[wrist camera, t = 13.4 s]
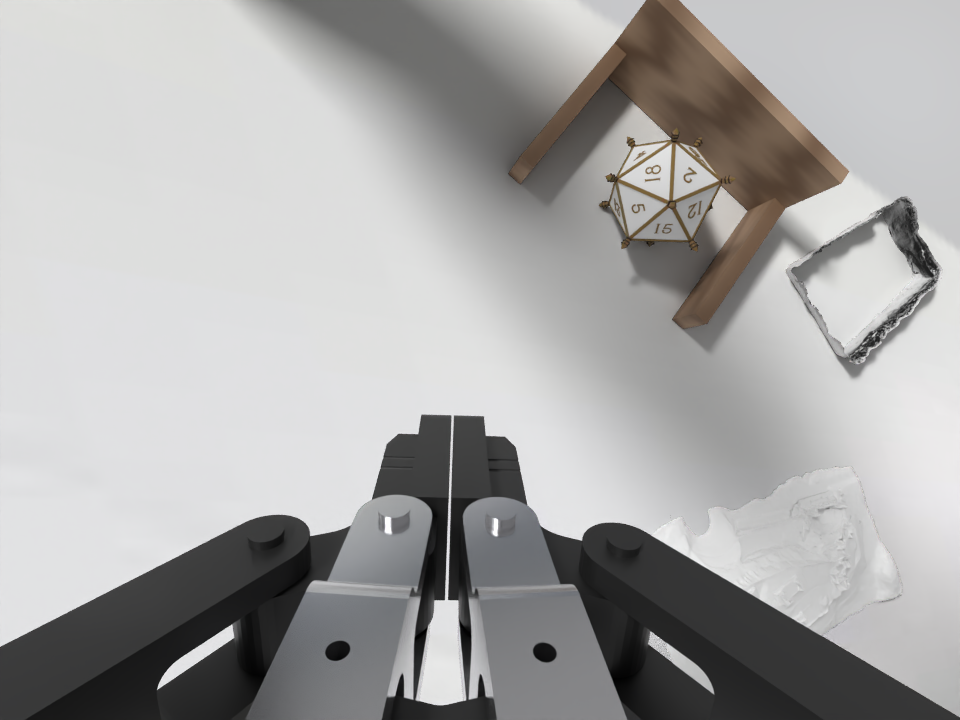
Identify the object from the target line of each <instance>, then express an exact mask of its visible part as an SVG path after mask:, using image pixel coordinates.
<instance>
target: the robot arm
mask: <svg viewBox="0 0 960 720" xmlns="http://www.w3.org/2000/svg"><path fill="white" fill-rule="evenodd" d="M450 442H451V415H421V421H420V428H419V434H398V435H397V436H396V437H395V438H393V439H392V440H391V441H390V442H389V443H388V444H387V446H386V449H385V453H384V459H383V460H382V464H381V469H380V471H379V475H378V479H377V483H376V486H375V490H374V494H373V497H372V500H371V501H369V502H367V503H366V504H364V505H363V506H362V507H361V508H360V509H359V510H358V512H357V514H356V516H355V518H354V520H353V523H352V525H351V526H349V527H347V528H345V529H342V530H339V531H335V532H331V533H326V534H320V535H315V536H310V531H309V528H308V526H307V525H306V524H305V523H304V522H303V521H302V520H300V519H298V518H295V517H292V516H287V515H269V516H263V517H259V518H255V519H252V520H250V521H247V522H245V523H243V524H241V525H239V526H237V527H235V528H233V529H231V530H229V531H227V532H225V533H223V534H221V535H219V536H217V537H215V538H213V539H211V540H210V541H208V542H206V543H204V544H202V545H200V546H198V547H196V548H194V549H192V550H190V551H188V552H186V553H184V554H182V555H180V556H178V557H176V558H174V559H172V560H170V561H168V562H166V563H164V564H162V565H160V566H158V567H156V568H154V569H153V570H151V571H149V572H147V573H145V574H143V575H141V576H139V577H137V578H135V579H133V580H131V581H129V582H127V583H125V584H123V585H121V586H119V587H117V588H115V589H113V590H111V591H109V592H107V593H105V594H103V595H101V596H99V597H97V598H96V599H94V600H92V601H90V602H88V603H86V604H84V605H82V606H80V607H78V608H76V609H74V610H72V611H70V612H68V613H66V614H64V615H62V616H60V617H58V618H56V619H54V620H52V621H50V622H48V623H46V624H44V625H42V626H40V627H39V628H37V629H35V630H33V631H31V632H29V633H27V634H25V635H23V636H21V637H19V638H17V639H15V640H13V641H11V642H9V643H7V644H5V645H3V646H1V647H0V720H960V717H958V716H956V715H955V714H953V713H951V712H950V711H948V710H946V709H944V708H943V707H941V706H939V705H938V704H936V703H934V702H933V701H931V700H929V699H927V698H926V697H924V696H922V695H921V694H919V693H917V692H916V691H914V690H912V689H911V688H909V687H907V686H905V685H904V684H902V683H900V682H899V681H897V680H895V679H894V678H892V677H890V676H889V675H887V674H885V673H883V672H882V671H880V670H878V669H877V668H875V667H873V666H872V665H870V664H868V663H866V662H865V661H863V660H861V659H860V658H858V657H856V656H855V655H853V654H851V653H850V652H848V651H846V650H844V649H843V648H841V647H839V646H838V645H836V644H834V643H833V642H831V641H829V640H828V639H826V638H824V637H822V636H821V635H819V634H817V633H816V632H814V631H812V630H811V629H809V628H807V627H805V626H804V625H802V624H800V623H799V622H797V621H795V620H794V619H792V618H790V617H789V616H787V615H785V614H783V613H782V612H780V611H778V610H777V609H775V608H773V607H772V606H770V605H768V604H767V603H765V602H763V601H761V600H760V599H758V598H756V597H755V596H753V595H751V594H750V593H748V592H746V591H744V590H743V589H741V588H739V587H738V586H736V585H734V584H733V583H731V582H729V581H728V580H726V579H724V578H722V577H721V576H719V575H717V574H716V573H714V572H712V571H711V570H709V569H707V568H706V567H704V566H702V565H700V564H699V563H697V562H695V561H694V560H692V559H690V558H689V557H687V556H685V555H683V554H682V553H680V552H678V551H677V550H675V549H673V548H672V547H670V546H668V545H667V544H665V543H663V542H661V541H660V540H658V539H656V538H655V537H653V536H651V535H650V534H648V533H646V532H644V531H642V530H641V529H638V528H636V527H633V526H630V525H626V524H621V523H601V524H598V525H595V526H592V527H591V528H589V529H588V530H587V531H586V532H585V533H584V535H583V539H582V541H580V540H576V539H572V538H568V537H564V536H560V535H557V534H554V533H552V532H550V531H548V530H546V529H544V528H543V527H541V526H540V524H539V521H538V518H537V516H536V514H535V512H534V511H533V510H532V509H531V508H530V507H529V506H527V501H526V496H525V491H524V486H523V481H522V476H521V472H520V466H519V462H518V456H517V451H516V447H515V446H514V445H513V444H512V443H511V442H510V441H509V440H508V439H507V438H506V437H496V436H486V435H485V425H484V416H454V431H453V459H452V488H451V521H450V555H449V590H448V600H459V615H458V647H459V659H460V671H461V682H462V694H463V701H461V702H457V703H453V704H449V705H443V706H438V705H432V704H428V703H424V702H420V701H419V698H420V692H421V686H422V680H423V673H424V667H425V661H426V655H427V648H428V642H429V634H430V622H431V620H432V618H433V613H434V600H445V580H446V553H447V526H448V500H449V471H450ZM231 624H233V631H234V639H232V640H231V641H229V642H228V643H226V644H225V645H223V646H222V647H220V648H219V649H217V650H216V651H214V652H213V653H211V654H210V655H208V656H207V657H205V658H204V659H203V660H201V661H200V662H198V663H197V664H195V665H194V666H192V667H191V668H189V669H188V670H186V671H185V672H183V673H182V674H180V675H179V676H177V677H176V678H174V679H173V680H171V681H170V682H169V683H167V684H166V685H164V686H163V687H161V688H160V689H158V690H157V687H158V684H159V682H160V680H161V678H162V676H163V675H164V673H165V672H166V671H167V669H168V668H169V667H170V666H171V665H172V664H173V663H174V662H176V661H177V660H178V659H180V658H181V657H182V656H184V655H185V654H187V653H189V652H190V651H192V650H193V649H195V648H196V647H198V646H199V645H201V644H202V643H204V642H205V641H207V640H208V639H210V638H212V637H213V636H215V635H216V634H218V633H219V632H221V631H222V630H224V629H225V628H227V627H228V626H230V625H231ZM650 631H651V632H653V633H654V634H655V635H657V636H658V637H660V638H661V639H662V640H664V641H665V642H666V643H668V644H669V645H670V646H672V647H673V648H674V649H676V650H677V651H679V652H680V653H681V654H683V655H684V656H685V657H687V658H688V659H689V660H691V661H692V662H693V663H695V664H696V665H697V666H698V667H699V668H700V669H701V670H702V671H703V672H704V673H705V674H706V676H707V677H708V679H709V680H710V682H711V684H712V687H713V690H714V694H713V693H711V692H710V691H709V690H708V689H706V688H705V687H704V686H702V685H701V684H700V683H698V682H697V681H696V680H694V679H693V678H692V677H690V676H689V675H688V674H686V673H685V672H684V671H683V670H681V669H680V668H679V667H677V666H676V665H675V664H673V663H672V662H671V661H669V660H668V659H667V658H665V657H664V656H663V655H661V654H660V653H659V652H657V651H656V650H655V649H654V648H652V647H651V646H650V645H648V641H649V636H650Z"/></svg>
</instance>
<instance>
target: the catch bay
mask: <svg viewBox="0 0 960 720" xmlns="http://www.w3.org/2000/svg"><path fill="white" fill-rule="evenodd" d="M607 78H609V79H610V80H611V81H612V82H613V83H614V84H615V85H616V86H617V87H618V88H619V89H621V90H622V91H623V92H624V93H625V94H626V95H627V96H628V97H629V98H630V99H631V100H632V101H633V102H634V103H635V104H636V105H637V106H638V107H639V108H640V109H642V110H643V111H644V112H645V113H646V114H647V115H648V116H649V117H650V118H651V119H652V120H653V121H654V122H655V123H656V124H657V125H658V126H659V127H660V128H661V129H663V130H664V131H665V132H666V133H667V134H668V135H669V136H671V132H673V131H674V130H675V129H676V128H677V129H678V131H679V132H680V134H679V137H678V139H677V141H680V142H683V143H687V144H690V145H694V142H695V141H696V139H698V138H701V137H702V143H703V144H701V146H700V147H698V148H697V149H698V150H699V151H700V152H701V154H702V155H703V156H704V157H705V159H706V160H707V161H708V163H709V164H710V165H711V166H712V168H713V169H714V170H715V171H716V173H717V174H718V175H719V177H720V178H724V177H725V176H726V177H727V176H729V175H730V176H731V177H734V178H736V179H735V180H734V181H732V182H731V184H729V183H727V184H725V183H723V184H722V185H721V186H722V187H723V188H724V189H726V190H727V191H728V192H729V193H730V194H731V195H732V196H733V197H734V198H735V199H736V200H737V201H738V202H739V203H740V204H741V205H742V206H743V207H744V208H745V209H747V210H748V211H747V213H746V214H745V216H744V217H743V219H742V220H741V221H740V223H739V224H738V226H737V227H736V229H735V230H734V231H733V233H732V234H731V236H730V237H729V239H728V240H727V241H726V243H725V244H724V246H723V247H722V249H721V250H720V252H719V253H718V254H717V256H716V257H715V259H714V260H713V262H712V263H711V264H710V266H709V267H708V269H707V270H706V272H705V273H704V275H703V276H702V277H701V279H700V280H699V282H698V283H697V285H696V286H695V287H694V289H693V290H692V292H691V293H690V295H689V296H688V297H687V299H686V300H685V302H684V303H683V305H682V306H681V308H680V309H679V310H678V312H677V313H676V315H675V316H674V318H673V319H672V320H673V321H675V322H676V323H677V324H678V325H679V326H680V327H681V328H682V329H685V328H690V327H695V326H700V325H704V324H707V323H708V322H709V320H710V319H711V317H712V316H713V314H714V313H715V311H716V310H717V308H718V307H719V305H720V304H721V302H722V301H723V300H724V298H725V297H726V295H727V294H728V292H729V291H730V289H731V288H732V286H733V285H734V283H735V282H736V280H737V279H738V277H739V276H740V274H741V273H742V272H743V270H744V269H745V267H746V266H747V264H748V263H749V261H750V260H751V258H752V257H753V255H754V254H755V252H756V251H757V249H758V248H759V246H760V245H761V244H762V242H763V241H764V239H765V238H766V236H767V235H768V233H769V232H770V230H771V229H772V227H773V226H774V224H775V223H776V221H777V220H778V218H779V217H780V216H781V214H782V213H783V211H784V210H785V208H787V207H789V206H791V205H794V204H796V203H798V202H800V201H803V200H805V199H807V198H810V197H812V196H814V195H816V194H819V193H821V192H823V191H825V190H828V189H830V188H832V187H835V186H837V185H839V184H841V183H842V182H843V180H844V179H845V177H846V176H847V174H848V173H849V171H848V170H847V169H846V168H845V167H844V166H843V165H842V164H841V163H840V162H839V161H838V160H837V159H836V158H835V157H834V156H833V155H832V154H831V153H830V152H829V151H828V150H827V149H826V148H825V147H824V146H823V145H822V144H821V143H820V142H819V141H818V140H817V139H816V138H815V137H814V136H813V135H812V133H811V132H810V131H808V129H807V128H806V127H805V126H804V125H802V123H801V122H800V121H798V119H797V118H796V117H795V116H794V115H793V114H792V113H791V112H790V111H788V109H787V108H786V107H785V106H784V105H783V104H782V103H781V102H780V101H779V100H778V99H777V98H776V97H775V96H773V94H772V93H770V91H769V90H768V89H767V88H766V87H765V86H764V85H763V84H762V83H761V82H759V80H758V79H756V77H755V76H754V75H752V73H751V72H750V71H749V70H748V69H747V68H746V67H745V66H744V65H743V64H742V63H741V62H740V61H739V60H738V59H737V58H736V57H735V56H734V55H733V54H732V53H731V52H730V51H729V50H728V49H727V48H726V47H725V46H724V45H723V44H722V43H721V42H720V41H719V40H718V39H717V38H716V37H715V36H714V35H713V34H712V33H711V32H710V31H709V30H708V29H707V28H706V27H705V26H704V25H703V24H702V23H701V22H700V21H699V20H698V19H697V18H696V17H695V16H694V15H693V14H692V13H691V12H690V11H689V10H688V9H687V8H686V7H685V6H684V5H683V4H682V3H681V2H680V1H679V0H646V1H645V3H644V4H643V6H642V7H641V8H640V10H639V11H638V12H637V14H636V15H635V16H634V18H633V19H632V21H631V22H630V23H629V24H628V26H627V27H626V29H625V30H624V31H623V33H622V34H621V35H620V37H619V38H618V39H617V41H616V42H615V43H614V45H613V46H612V47H611V48H610V49H609V51H608V52H607V53H606V54H605V55H604V57H603V58H602V59H601V60H600V61H599V63H598V64H597V65H596V66H595V67H594V69H593V70H592V71H591V72H590V73H589V75H588V76H587V77H586V78H585V79H584V81H583V82H582V83H581V84H580V85H579V86H578V88H577V89H576V90H575V91H574V92H573V94H572V95H571V96H570V97H569V98H568V100H567V101H566V102H565V103H564V104H563V106H562V107H561V108H560V109H559V110H558V112H557V113H556V114H555V115H554V116H553V118H552V119H551V120H550V121H549V122H548V124H547V125H546V126H545V127H544V128H543V130H542V131H541V132H540V133H539V134H538V136H537V137H536V138H535V139H534V140H533V142H532V143H531V144H530V145H529V146H528V148H527V149H526V150H525V151H524V152H523V154H522V155H521V156H520V157H519V159H518V160H517V162H516V163H515V165H514V166H513V167H512V169H511V170H510V172H509V173H508V174H509V175H510V176H511V177H513V178H514V179H515V180H516V181H517V182H518V183H519V184H521V183H522V182H523V180H524V179H525V178H526V177H527V176H528V174H529V173H530V172H531V171H532V169H533V168H534V167H535V166H536V165H537V163H538V162H539V161H540V160H541V159H542V157H543V156H544V155H545V154H546V152H547V151H548V150H549V149H550V148H551V146H552V145H553V144H554V143H555V142H556V140H557V139H558V138H559V137H560V135H561V134H562V133H563V132H564V131H565V129H566V128H567V127H568V126H569V125H570V123H571V122H572V121H573V120H574V118H575V117H576V116H577V115H578V114H579V112H580V111H581V110H582V109H583V108H584V106H585V105H586V104H587V103H588V101H589V100H590V99H591V98H592V97H593V95H594V94H595V93H596V92H597V91H598V89H599V88H600V87H601V86H602V84H603V83H604V82H605V81H606V80H607Z"/></svg>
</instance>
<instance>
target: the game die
mask: <svg viewBox="0 0 960 720" xmlns="http://www.w3.org/2000/svg"><path fill="white" fill-rule="evenodd" d="M679 134H680V132H679V131H678V129H677V128H676V129H675V130H674V131H673V132H671V136H670V137H671V140H666V141H660V142H653V143H647V144H641V145H635V141H634V140H633V139H634V138H630V137H627V144H628V146H630V147H631V150H630V152H629V154H628V156H627V157H626V159H625V161H624V163H623V165H622V167H621V169H620V171H619V172H618V174H617V176H616V177H615V175H614V174H613V175H612V174H610V175H607V176H605V177H606V179H607V182H614V184H613V188H612V192H611V196H610V199H609V201H608V202H607V201H602V203H601V204H600V205H599V206H601V207H603V209H604V208H605V207H606V208H607V207H608V206H610V207H611V209H612V211H613V213H614V215H615V217H616V218H617V220H618V222H619V224H620V226H621V228H622V230H623V231H624V233H625V235H626V237H627V238H626V239H625V240H623V242H621V244H622V247H621V249H623V248H626V247H628V245H629V244H630V243H629V242H630V241H648V242H647V244H648V245H649V247H650V246H651V245H653V244H654V241H663V242H689V245H690V246H689V247H691V250H694V251H697V252H698V245H697V244H696V243H697V242H695V241H694V240H693V239H694V237H695V235H696V233H697V231H698V229H699V227H700V225H701V223H702V221H703V219H704V217H705V216H706V214H707V212H708V211H709V210H710V209H712V208H713V207H712V202H713V200H714V198H715V196H716V194H717V192H718V190H719V188H720V186H721V185H722V184H723V183H725V184H727V183H729V184H731V182H732V181H734V180H735V179H736V178H734V177H731V176H730V175H729V176H727V177H726V176H725V177H724V178H720V177H719V175H718V174H717V173H716V171H715V170H714V169H713V168H712V166H711V165H710V164H709V163H708V161H707V160H706V159H705V157H704V156H703V155H702V154H701V152H700V151H699V150H698V149H697V148H698V147H700V146H701V144H703V143H702V137H701V138H698V139H696V141H695V142H694V145H690V144H687V143H683V142H680V141H677V139H678V137H679Z"/></svg>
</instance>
